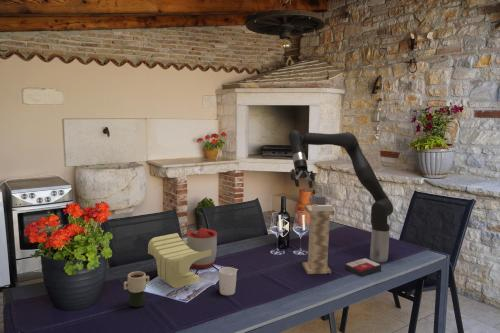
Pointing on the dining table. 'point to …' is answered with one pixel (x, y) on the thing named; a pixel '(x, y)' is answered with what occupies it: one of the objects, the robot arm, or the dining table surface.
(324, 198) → the charger
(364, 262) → the black red flat box
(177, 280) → the slatted curved stool
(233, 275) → the white cup
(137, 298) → the character mug
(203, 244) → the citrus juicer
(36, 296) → the dining table surface
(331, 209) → the power strip
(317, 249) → the pedestal column stand
